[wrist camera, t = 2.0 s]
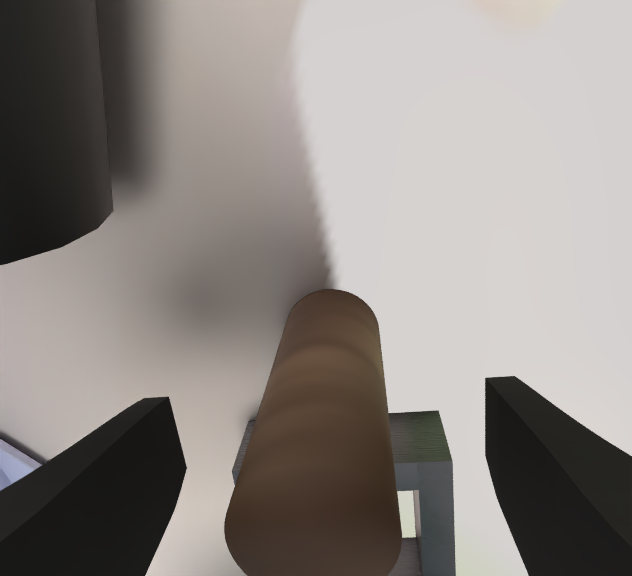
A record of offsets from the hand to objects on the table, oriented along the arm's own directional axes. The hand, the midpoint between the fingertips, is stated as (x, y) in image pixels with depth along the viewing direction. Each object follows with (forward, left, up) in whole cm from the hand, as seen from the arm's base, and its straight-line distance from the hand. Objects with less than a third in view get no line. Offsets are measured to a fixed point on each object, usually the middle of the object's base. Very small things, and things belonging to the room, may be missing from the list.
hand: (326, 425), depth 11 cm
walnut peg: (0, 0, -5) cm, 5 cm away
